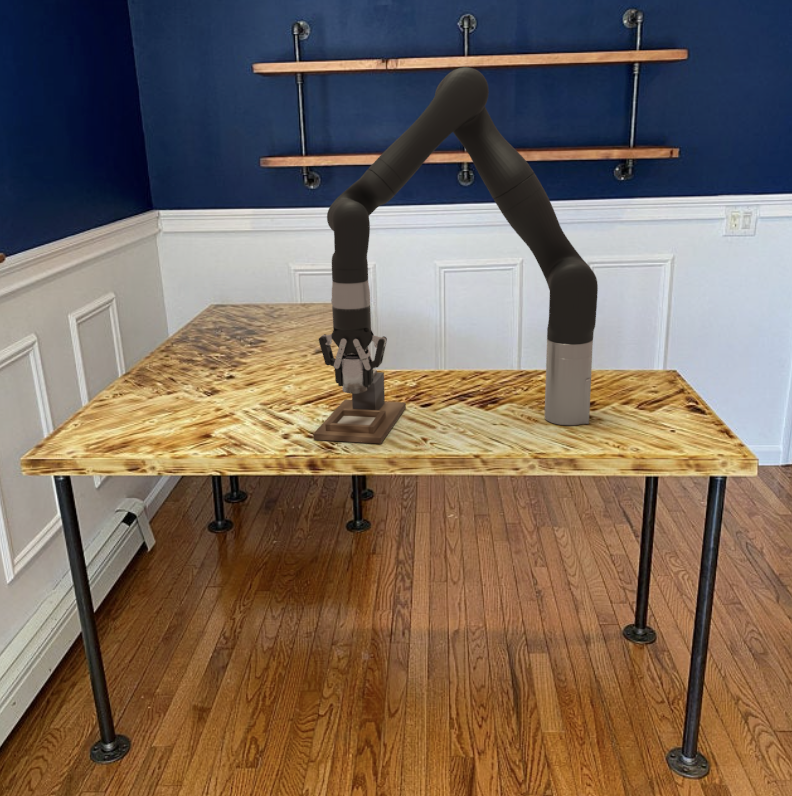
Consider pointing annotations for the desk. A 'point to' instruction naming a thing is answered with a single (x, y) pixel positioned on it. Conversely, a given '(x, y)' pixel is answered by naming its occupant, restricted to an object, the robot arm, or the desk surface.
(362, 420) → the dock
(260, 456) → the desk surface
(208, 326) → the desk surface
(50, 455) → the desk surface
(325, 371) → the desk surface
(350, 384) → the lens
